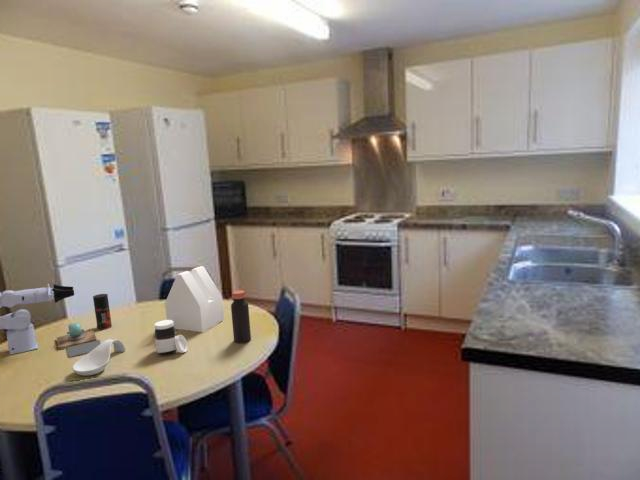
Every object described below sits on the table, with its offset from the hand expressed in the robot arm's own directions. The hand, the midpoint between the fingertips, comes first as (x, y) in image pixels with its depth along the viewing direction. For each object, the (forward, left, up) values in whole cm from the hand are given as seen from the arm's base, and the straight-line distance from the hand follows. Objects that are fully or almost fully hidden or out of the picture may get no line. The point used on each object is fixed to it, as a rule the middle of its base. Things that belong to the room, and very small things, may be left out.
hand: (73, 290), depth 190 cm
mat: (0, -17, -21) cm, 26 cm away
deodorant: (+10, +6, -21) cm, 24 cm away
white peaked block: (+45, -18, -21) cm, 53 cm away
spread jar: (+28, -43, -21) cm, 55 cm away
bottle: (+54, -50, -21) cm, 77 cm away
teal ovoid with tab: (-2, -4, -18) cm, 18 cm away
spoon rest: (+4, -38, -21) cm, 43 cm away
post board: (-2, -4, -21) cm, 21 cm away
